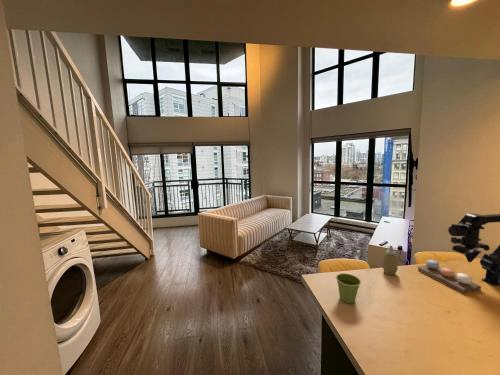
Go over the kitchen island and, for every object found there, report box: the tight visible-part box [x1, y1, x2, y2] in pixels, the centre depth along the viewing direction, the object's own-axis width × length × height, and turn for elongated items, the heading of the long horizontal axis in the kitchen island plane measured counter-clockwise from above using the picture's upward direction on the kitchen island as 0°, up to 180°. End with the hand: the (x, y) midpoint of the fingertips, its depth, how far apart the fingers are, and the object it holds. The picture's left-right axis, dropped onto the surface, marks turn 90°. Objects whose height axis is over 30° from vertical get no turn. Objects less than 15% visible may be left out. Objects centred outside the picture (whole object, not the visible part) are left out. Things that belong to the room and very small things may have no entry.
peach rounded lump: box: [440, 267, 455, 278], centre depth 126 cm, size 6×6×6 cm
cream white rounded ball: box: [456, 272, 473, 285], centre depth 117 cm, size 6×6×6 cm
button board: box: [417, 265, 482, 294], centre depth 126 cm, size 12×25×2 cm, turn 11°
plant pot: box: [335, 272, 362, 304], centre depth 110 cm, size 12×12×11 cm
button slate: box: [425, 259, 440, 270], centre depth 134 cm, size 6×6×6 cm
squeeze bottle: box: [382, 245, 399, 276], centre depth 134 cm, size 8×8×18 cm
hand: (469, 261), depth 122 cm, fingers closed
